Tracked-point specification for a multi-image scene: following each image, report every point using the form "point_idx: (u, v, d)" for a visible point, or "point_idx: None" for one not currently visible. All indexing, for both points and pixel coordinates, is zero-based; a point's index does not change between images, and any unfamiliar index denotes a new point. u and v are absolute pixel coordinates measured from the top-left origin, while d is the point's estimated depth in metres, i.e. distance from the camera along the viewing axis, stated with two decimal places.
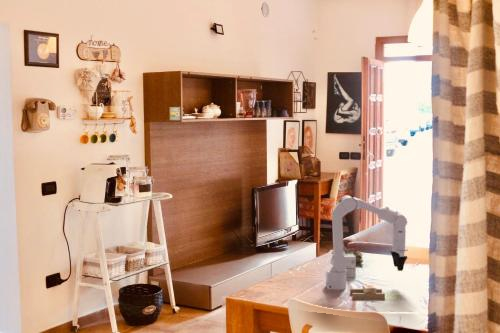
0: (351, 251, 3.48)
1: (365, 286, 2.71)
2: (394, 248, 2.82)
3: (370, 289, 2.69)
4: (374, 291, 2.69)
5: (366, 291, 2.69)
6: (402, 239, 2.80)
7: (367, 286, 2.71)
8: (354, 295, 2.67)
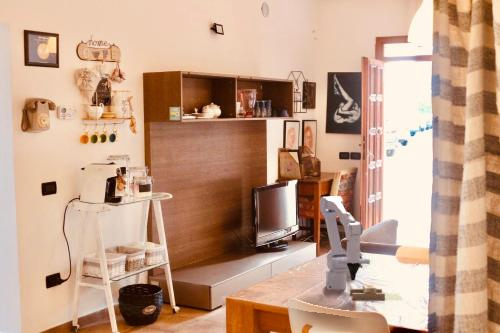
0: None
1: (365, 286, 2.71)
2: None
3: (370, 289, 2.69)
4: (374, 291, 2.69)
5: (366, 291, 2.69)
6: (348, 249, 2.68)
7: (367, 286, 2.71)
8: (354, 295, 2.67)
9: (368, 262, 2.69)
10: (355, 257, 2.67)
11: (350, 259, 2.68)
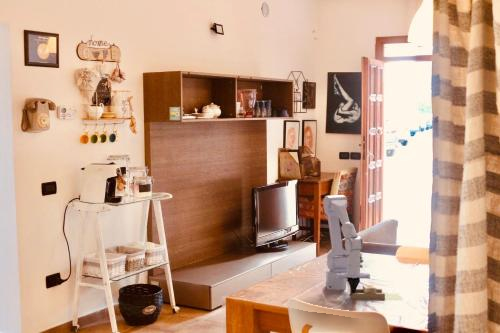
0: None
1: (365, 286, 2.71)
2: None
3: (370, 289, 2.69)
4: (374, 291, 2.69)
5: (366, 291, 2.69)
6: (349, 263, 2.68)
7: (367, 286, 2.71)
8: (354, 295, 2.67)
9: (368, 277, 2.70)
10: (355, 272, 2.68)
11: (350, 274, 2.68)
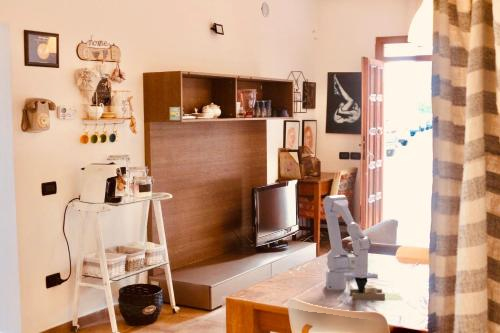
0: None
1: (365, 286, 2.71)
2: None
3: (370, 289, 2.69)
4: (374, 291, 2.69)
5: (366, 291, 2.69)
6: (357, 263, 2.68)
7: (367, 286, 2.71)
8: (354, 295, 2.67)
9: (376, 277, 2.70)
10: (363, 272, 2.68)
11: (358, 274, 2.68)
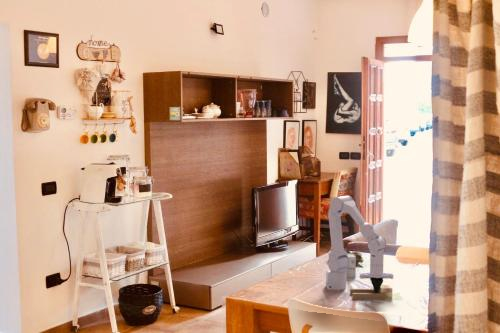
0: None
1: (381, 286, 2.71)
2: None
3: (386, 289, 2.68)
4: (390, 291, 2.68)
5: (382, 292, 2.68)
6: (375, 264, 2.67)
7: (383, 286, 2.71)
8: (354, 295, 2.67)
9: (391, 277, 2.69)
10: (378, 272, 2.67)
11: (374, 274, 2.68)
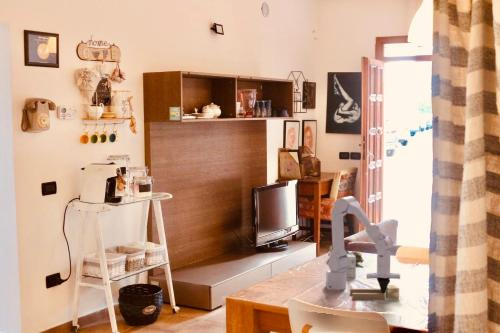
0: None
1: (388, 286, 2.71)
2: None
3: (393, 289, 2.68)
4: (397, 291, 2.68)
5: (388, 292, 2.68)
6: (382, 264, 2.67)
7: (390, 286, 2.71)
8: (354, 295, 2.67)
9: (398, 277, 2.69)
10: (385, 272, 2.67)
11: (380, 274, 2.68)
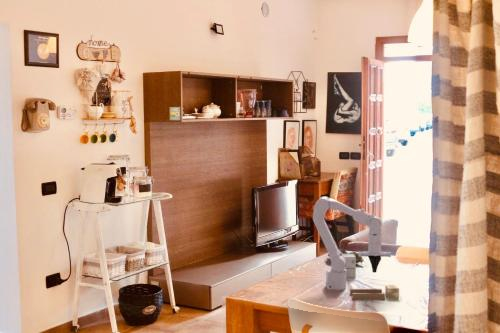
0: None
1: (388, 286, 2.71)
2: None
3: (393, 289, 2.68)
4: (397, 291, 2.68)
5: (388, 292, 2.68)
6: (376, 242, 2.77)
7: (390, 286, 2.71)
8: (354, 295, 2.67)
9: (389, 255, 2.79)
10: (376, 250, 2.77)
11: (372, 252, 2.78)
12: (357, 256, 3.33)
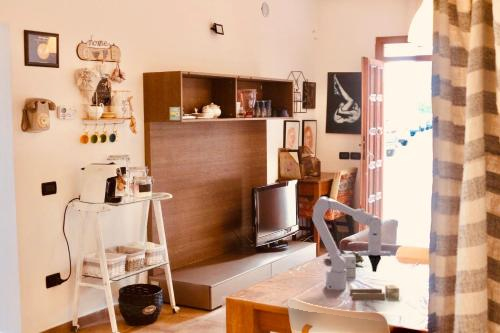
0: None
1: (388, 286, 2.71)
2: None
3: (393, 289, 2.68)
4: (397, 291, 2.68)
5: (388, 292, 2.68)
6: (377, 242, 2.78)
7: (390, 286, 2.71)
8: (354, 295, 2.67)
9: (389, 254, 2.80)
10: (376, 250, 2.78)
11: (372, 251, 2.78)
12: (357, 256, 3.33)
